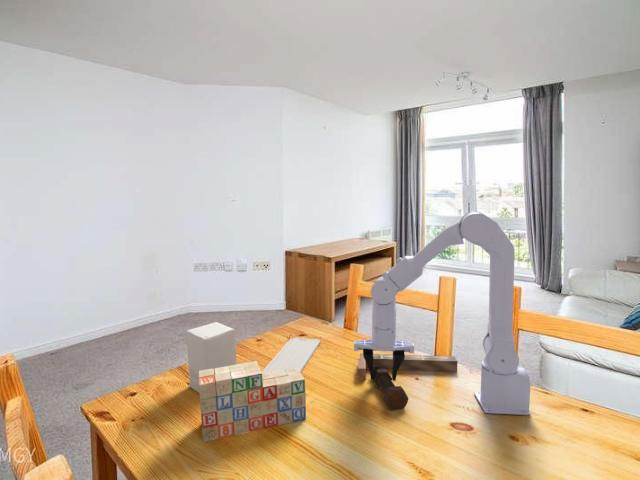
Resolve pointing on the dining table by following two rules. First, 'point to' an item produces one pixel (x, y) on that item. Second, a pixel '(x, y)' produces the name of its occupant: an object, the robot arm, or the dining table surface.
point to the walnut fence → (409, 363)
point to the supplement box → (209, 349)
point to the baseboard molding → (293, 354)
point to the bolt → (389, 390)
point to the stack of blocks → (249, 399)
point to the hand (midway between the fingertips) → (383, 378)
